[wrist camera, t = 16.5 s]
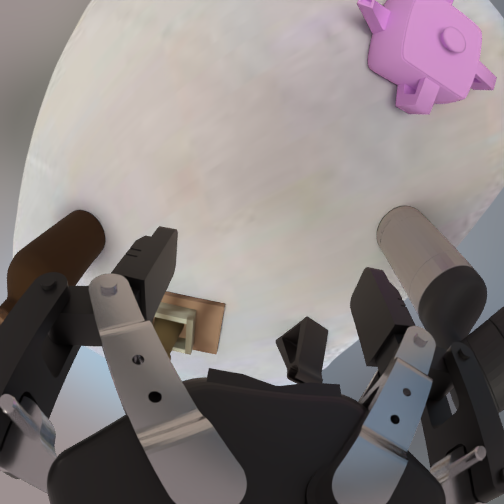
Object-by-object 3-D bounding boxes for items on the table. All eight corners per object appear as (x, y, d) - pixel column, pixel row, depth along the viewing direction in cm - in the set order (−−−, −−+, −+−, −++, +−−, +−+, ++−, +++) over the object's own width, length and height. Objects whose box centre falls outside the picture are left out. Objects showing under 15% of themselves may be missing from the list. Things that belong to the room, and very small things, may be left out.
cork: (149, 319, 55) (131, 361, 45) (165, 305, 52) (148, 349, 43) (172, 336, 57) (158, 378, 47) (190, 324, 54) (176, 368, 45)
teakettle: (388, 117, 34) (430, 128, 24) (333, 12, 27) (358, -17, 16) (468, 87, 29) (519, 94, 19) (424, -8, 22) (466, -28, 12)
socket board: (225, 303, 52) (222, 318, 49) (216, 350, 59) (214, 365, 56) (123, 281, 51) (115, 294, 48) (129, 330, 59) (123, 343, 55)
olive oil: (85, 195, 43) (-15, 279, 21) (118, 244, 47) (41, 347, 26) (55, 223, 46) (-30, 303, 24) (85, 265, 50) (16, 357, 29)
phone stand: (307, 315, 53) (313, 366, 43) (328, 329, 55) (336, 378, 44) (275, 340, 57) (275, 389, 46) (296, 352, 58) (298, 399, 48)
